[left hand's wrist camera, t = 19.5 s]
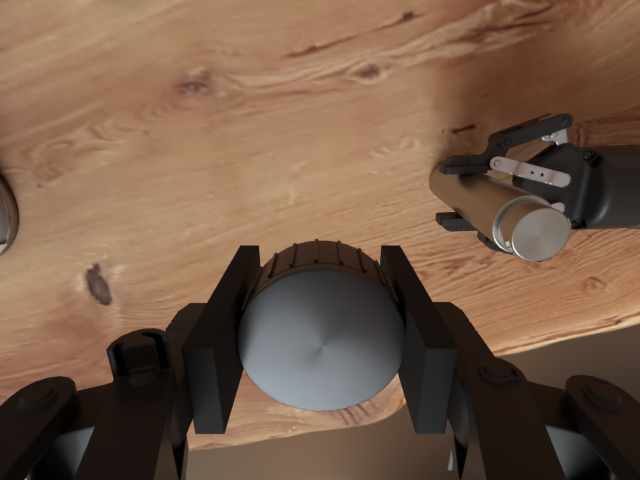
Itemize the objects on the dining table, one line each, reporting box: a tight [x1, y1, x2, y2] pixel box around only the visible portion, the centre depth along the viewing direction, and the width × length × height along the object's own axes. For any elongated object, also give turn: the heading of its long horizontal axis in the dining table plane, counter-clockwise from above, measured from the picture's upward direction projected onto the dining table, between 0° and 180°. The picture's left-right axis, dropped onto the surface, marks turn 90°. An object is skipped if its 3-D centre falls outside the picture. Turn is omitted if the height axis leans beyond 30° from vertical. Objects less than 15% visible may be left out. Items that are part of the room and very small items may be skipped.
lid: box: [236, 239, 406, 411], centre depth 11 cm, size 5×5×2 cm
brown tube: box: [429, 162, 571, 261], centre depth 30 cm, size 4×4×18 cm
